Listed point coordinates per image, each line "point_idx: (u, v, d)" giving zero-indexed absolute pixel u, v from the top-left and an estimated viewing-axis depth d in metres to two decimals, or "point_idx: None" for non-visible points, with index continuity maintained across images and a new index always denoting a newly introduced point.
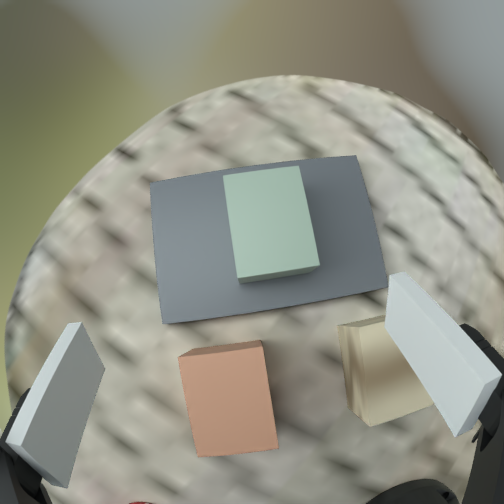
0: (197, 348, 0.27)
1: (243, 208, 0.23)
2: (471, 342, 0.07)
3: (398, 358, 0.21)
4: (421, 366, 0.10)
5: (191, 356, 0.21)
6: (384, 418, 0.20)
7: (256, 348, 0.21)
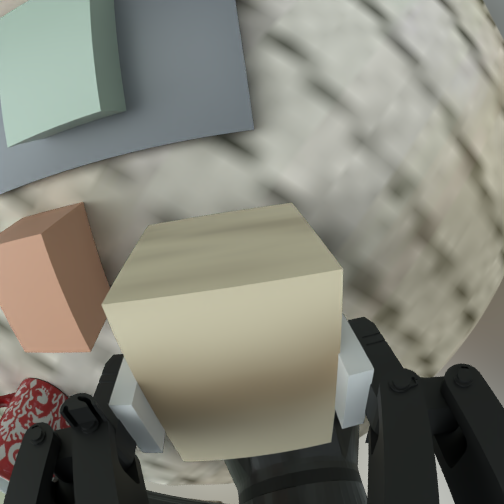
0: None
1: (12, 54, 0.10)
2: (351, 334, 0.09)
3: (233, 379, 0.09)
4: None
5: None
6: (212, 456, 0.10)
7: (35, 236, 0.14)
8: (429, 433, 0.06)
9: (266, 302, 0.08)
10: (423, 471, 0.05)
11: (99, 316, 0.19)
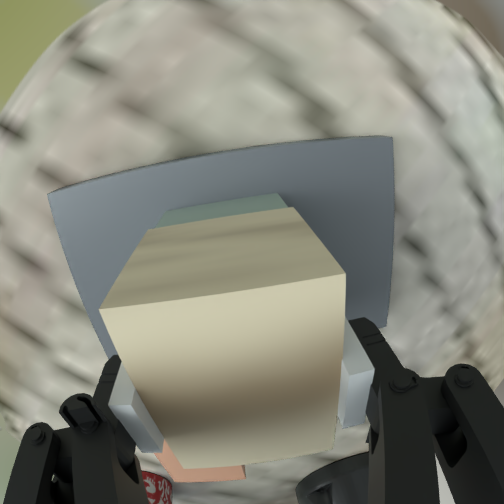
0: None
1: None
2: (352, 334, 0.09)
3: (233, 386, 0.08)
4: None
5: None
6: (212, 464, 0.10)
7: None
8: (430, 433, 0.06)
9: (267, 307, 0.07)
10: (424, 471, 0.05)
11: None
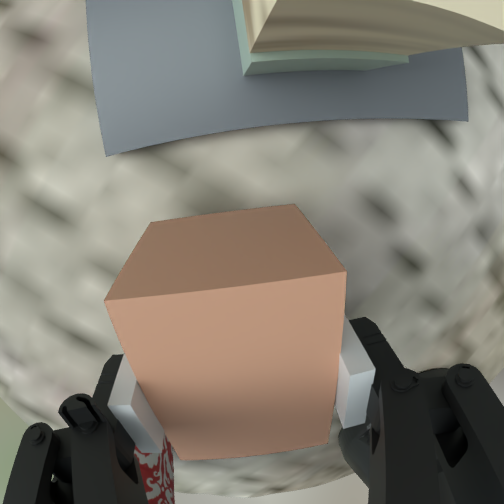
0: (159, 222, 0.12)
1: None
2: (353, 334, 0.09)
3: None
4: None
5: (140, 297, 0.07)
6: None
7: (329, 276, 0.07)
8: (431, 433, 0.06)
9: None
10: (424, 471, 0.05)
11: None
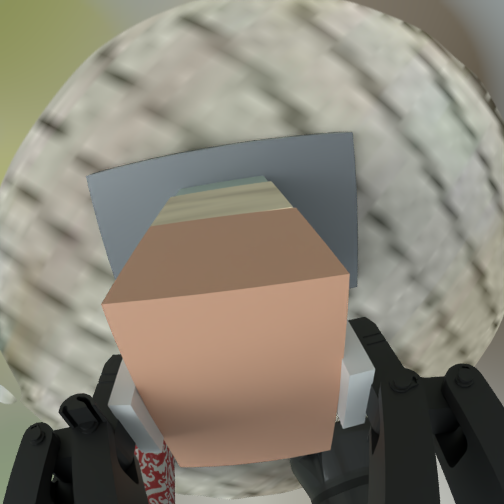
0: (159, 226, 0.12)
1: None
2: (352, 334, 0.09)
3: None
4: None
5: (138, 300, 0.07)
6: None
7: (332, 279, 0.07)
8: (430, 433, 0.06)
9: None
10: (424, 471, 0.05)
11: None
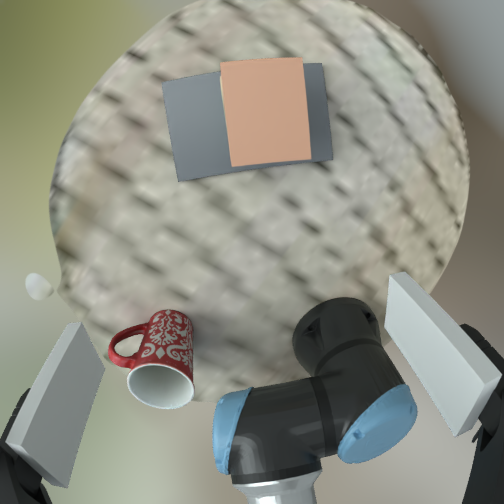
0: None
1: None
2: (471, 342, 0.07)
3: None
4: (421, 366, 0.10)
5: (233, 61, 0.20)
6: None
7: (296, 58, 0.20)
8: None
9: None
10: None
11: None
